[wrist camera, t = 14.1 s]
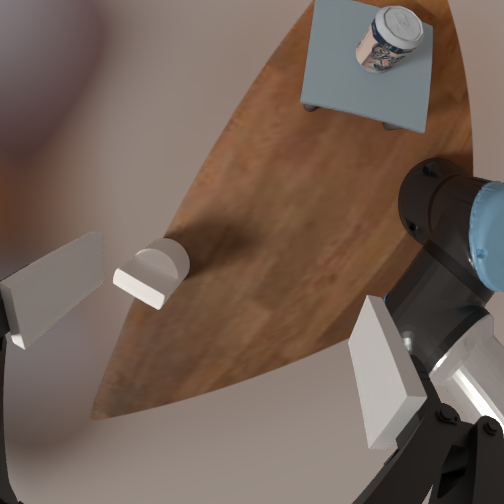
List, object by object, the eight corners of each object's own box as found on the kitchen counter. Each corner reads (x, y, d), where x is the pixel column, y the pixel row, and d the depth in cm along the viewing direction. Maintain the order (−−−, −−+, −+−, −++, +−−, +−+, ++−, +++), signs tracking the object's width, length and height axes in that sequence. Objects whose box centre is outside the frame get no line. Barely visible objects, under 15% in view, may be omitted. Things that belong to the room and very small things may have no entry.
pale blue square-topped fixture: (405, 49, 37) (433, 26, 26) (395, 135, 43) (424, 132, 32) (312, 25, 39) (316, -7, 27) (299, 112, 44) (300, 101, 33)
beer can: (363, 78, 31) (391, 49, 19) (348, 44, 30) (368, 4, 18) (397, 70, 30) (435, 43, 18) (382, 37, 28) (413, 0, 17)
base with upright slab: (197, 252, 54) (172, 280, 43) (180, 291, 57) (154, 324, 46) (154, 229, 54) (120, 250, 43) (140, 269, 57) (108, 296, 46)
